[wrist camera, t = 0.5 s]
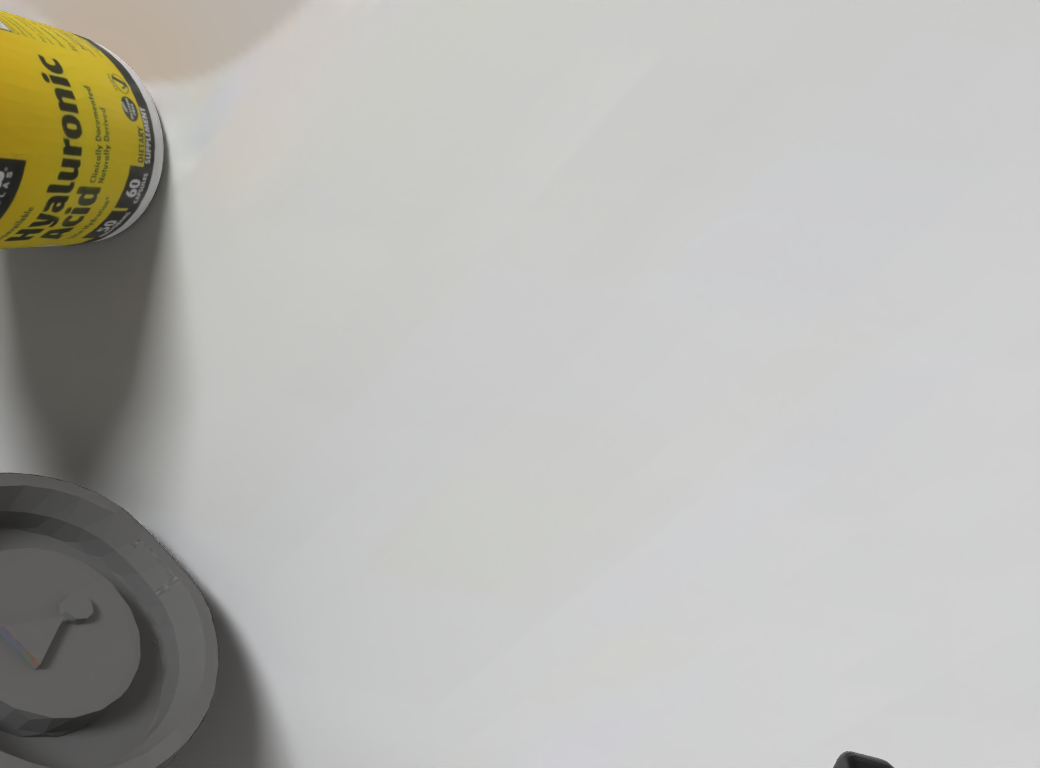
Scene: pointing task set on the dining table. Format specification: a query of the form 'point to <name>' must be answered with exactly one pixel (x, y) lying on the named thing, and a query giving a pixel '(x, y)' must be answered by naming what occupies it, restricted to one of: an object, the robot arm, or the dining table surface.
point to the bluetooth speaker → (94, 634)
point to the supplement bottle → (71, 138)
